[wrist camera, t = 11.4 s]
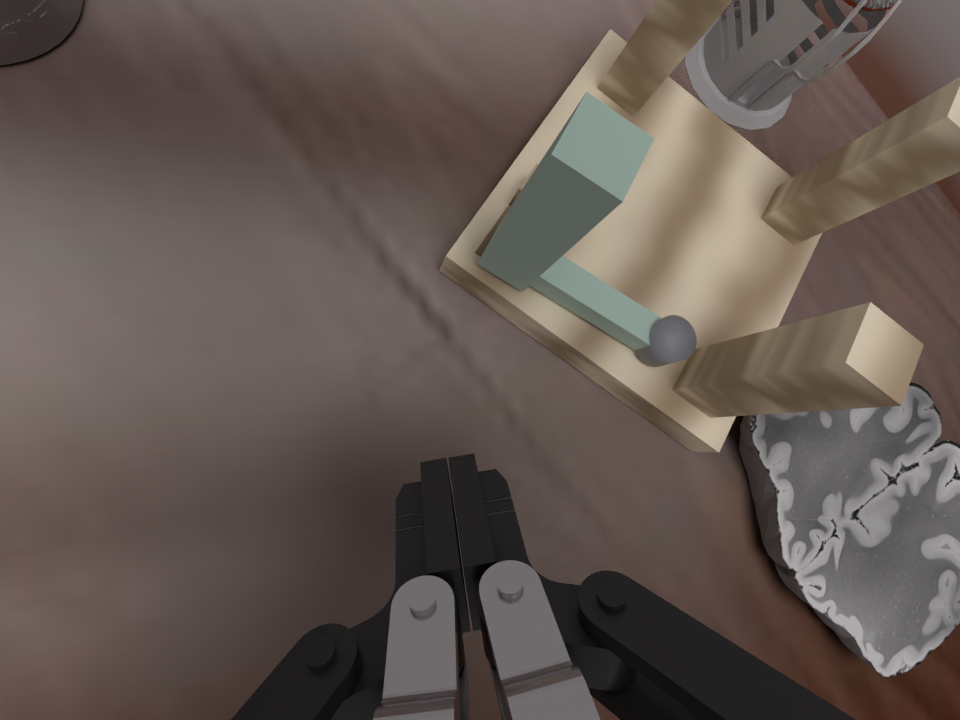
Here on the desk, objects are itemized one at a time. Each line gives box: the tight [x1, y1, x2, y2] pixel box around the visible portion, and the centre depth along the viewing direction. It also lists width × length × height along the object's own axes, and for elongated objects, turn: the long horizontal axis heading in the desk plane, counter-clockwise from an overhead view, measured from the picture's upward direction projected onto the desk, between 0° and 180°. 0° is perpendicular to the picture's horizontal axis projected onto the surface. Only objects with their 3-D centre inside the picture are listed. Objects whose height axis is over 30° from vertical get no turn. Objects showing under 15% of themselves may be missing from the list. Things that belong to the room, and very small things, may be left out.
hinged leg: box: [477, 92, 697, 367], centre depth 24 cm, size 13×3×11 cm, turn 62°
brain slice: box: [739, 383, 960, 677], centre depth 33 cm, size 20×17×3 cm
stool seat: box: [439, 0, 960, 453], centre depth 27 cm, size 20×20×14 cm
